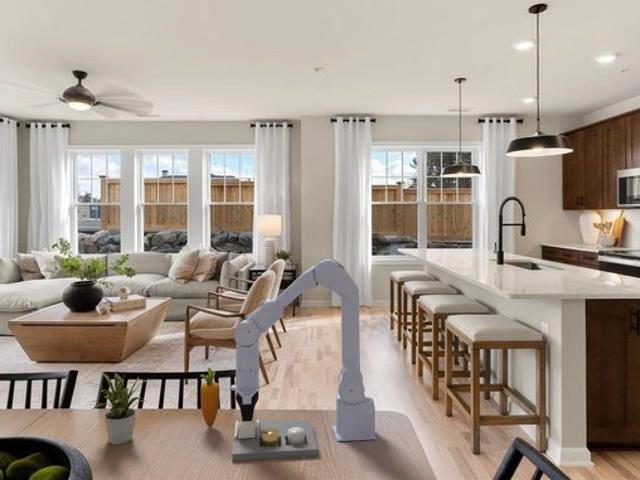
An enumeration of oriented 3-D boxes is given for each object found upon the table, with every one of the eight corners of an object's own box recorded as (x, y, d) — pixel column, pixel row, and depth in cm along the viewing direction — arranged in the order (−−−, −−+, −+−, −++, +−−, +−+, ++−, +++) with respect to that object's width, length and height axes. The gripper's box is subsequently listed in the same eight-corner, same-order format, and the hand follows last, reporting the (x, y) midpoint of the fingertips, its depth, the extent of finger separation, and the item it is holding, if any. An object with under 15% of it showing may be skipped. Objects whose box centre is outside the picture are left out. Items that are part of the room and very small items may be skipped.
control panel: (309, 425, 121) (309, 416, 121) (318, 455, 105) (318, 445, 105) (235, 429, 118) (235, 420, 118) (232, 460, 103) (232, 450, 103)
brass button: (278, 438, 111) (278, 428, 111) (279, 446, 107) (279, 435, 107) (261, 439, 110) (261, 428, 110) (261, 447, 106) (262, 436, 106)
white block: (255, 433, 112) (255, 420, 112) (255, 437, 110) (255, 425, 110) (238, 434, 112) (238, 421, 112) (238, 438, 109) (238, 425, 109)
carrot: (215, 432, 117) (215, 372, 116) (196, 430, 118) (196, 371, 117) (223, 424, 121) (223, 367, 121) (205, 422, 122) (205, 365, 122)
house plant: (69, 444, 110) (68, 375, 109) (119, 422, 122) (118, 360, 122) (110, 458, 103) (109, 385, 103) (158, 434, 115) (158, 368, 115)
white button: (303, 437, 112) (303, 426, 112) (305, 444, 108) (305, 434, 108) (287, 438, 111) (287, 427, 111) (288, 445, 107) (288, 435, 107)
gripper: (232, 360, 123) (232, 411, 124) (229, 378, 109) (229, 435, 109) (259, 359, 124) (259, 410, 125) (260, 377, 110) (259, 434, 110)
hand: (247, 422), depth 117 cm, fingers closed
